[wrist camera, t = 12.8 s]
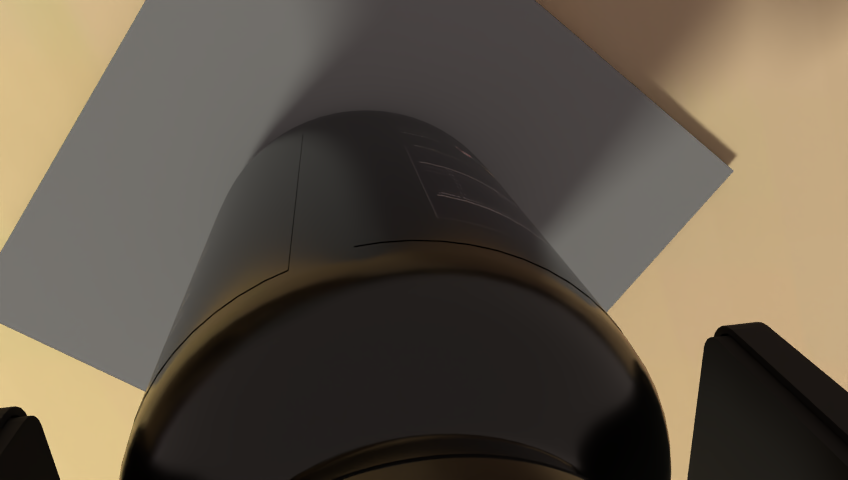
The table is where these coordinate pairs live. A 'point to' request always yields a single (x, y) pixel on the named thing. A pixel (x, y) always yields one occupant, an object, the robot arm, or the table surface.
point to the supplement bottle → (389, 330)
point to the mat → (315, 97)
